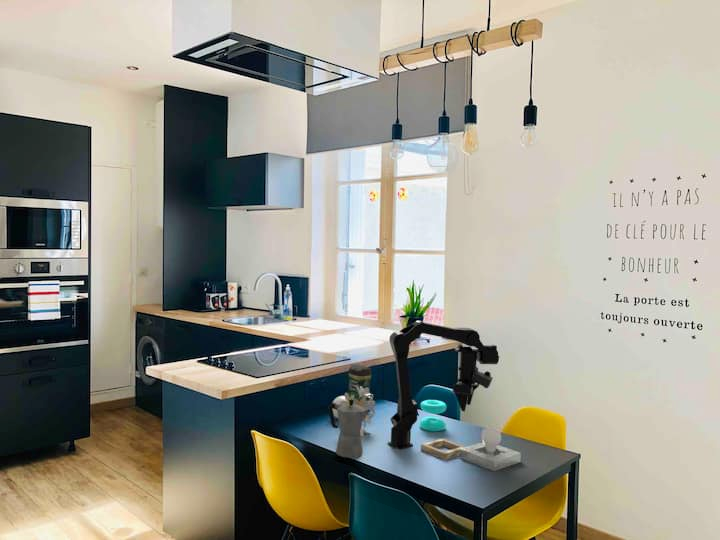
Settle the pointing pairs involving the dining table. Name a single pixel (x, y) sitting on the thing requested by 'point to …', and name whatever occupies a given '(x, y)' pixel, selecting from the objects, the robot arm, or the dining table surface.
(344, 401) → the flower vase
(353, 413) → the coffeepot
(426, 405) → the donuts
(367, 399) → the coffee jar
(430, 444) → the wooden picture frame
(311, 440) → the dining table surface
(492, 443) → the lightbulb
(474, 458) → the socket
